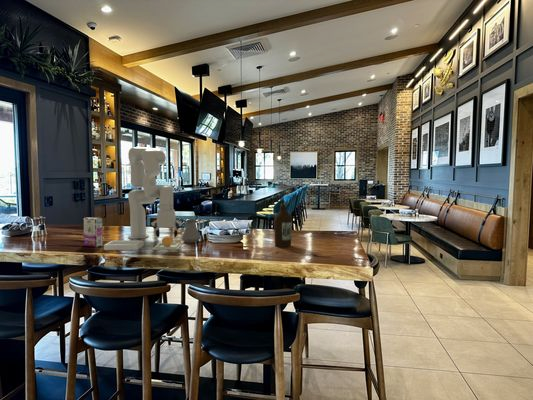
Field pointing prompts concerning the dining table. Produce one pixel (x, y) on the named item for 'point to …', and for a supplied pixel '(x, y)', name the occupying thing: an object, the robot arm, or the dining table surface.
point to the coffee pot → (191, 232)
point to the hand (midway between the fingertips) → (166, 237)
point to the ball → (167, 241)
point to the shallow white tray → (124, 245)
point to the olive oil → (283, 228)
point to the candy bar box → (93, 232)
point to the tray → (162, 247)
